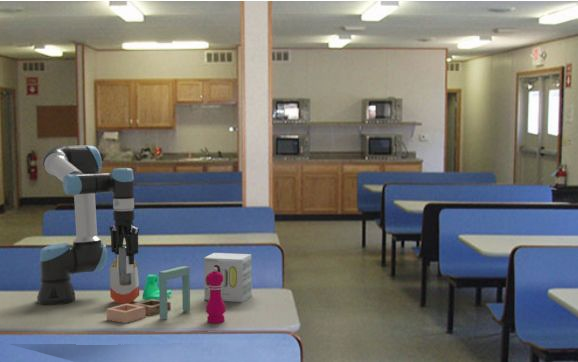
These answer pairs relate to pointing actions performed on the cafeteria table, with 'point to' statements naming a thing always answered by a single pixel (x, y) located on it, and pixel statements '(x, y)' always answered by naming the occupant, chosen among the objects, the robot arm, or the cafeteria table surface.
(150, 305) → the socket block
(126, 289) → the french fries container
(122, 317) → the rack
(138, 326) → the cafeteria table surface
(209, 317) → the pepper mill
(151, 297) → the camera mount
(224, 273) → the supplement box
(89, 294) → the cafeteria table surface
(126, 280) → the metal cylinder
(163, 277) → the teal green arch
